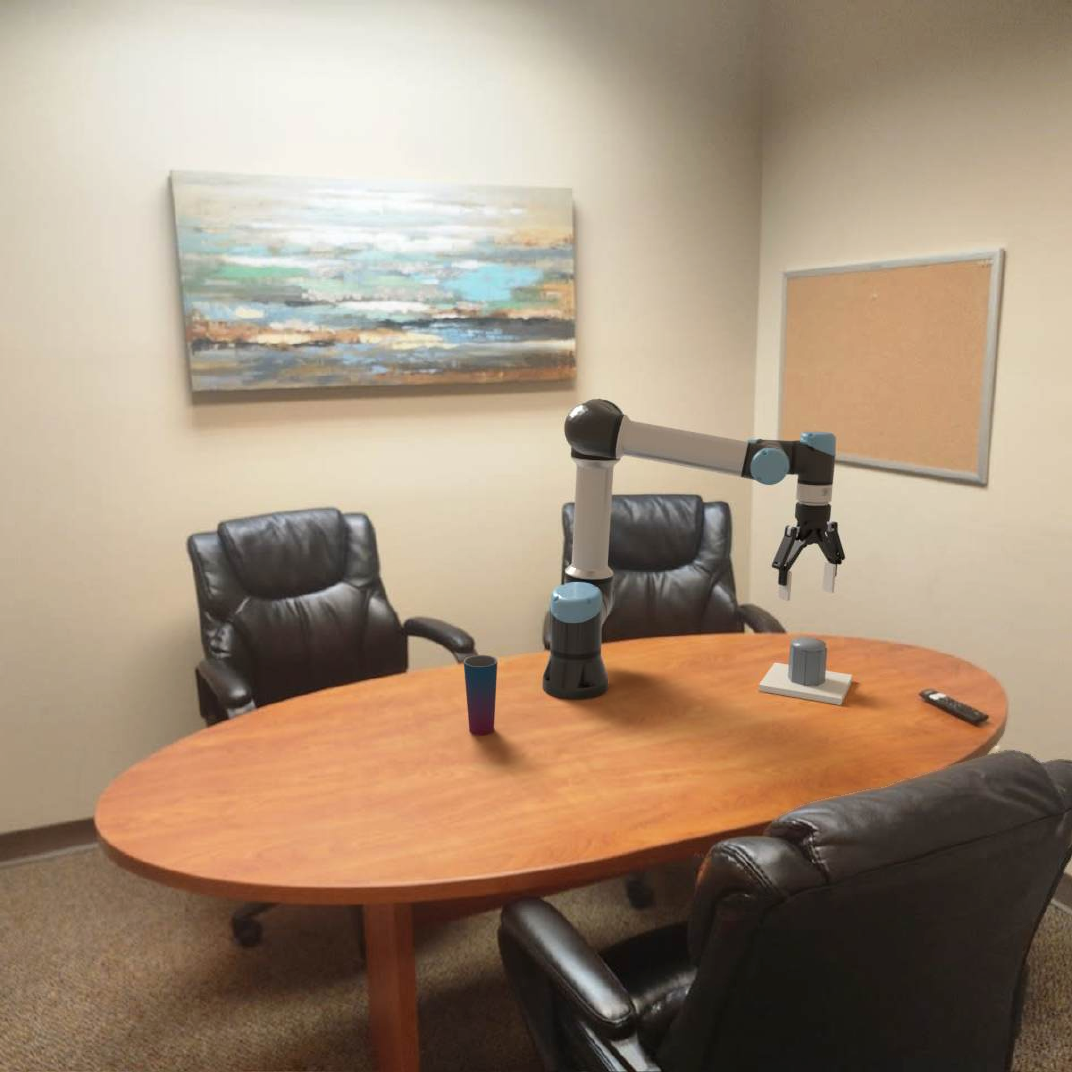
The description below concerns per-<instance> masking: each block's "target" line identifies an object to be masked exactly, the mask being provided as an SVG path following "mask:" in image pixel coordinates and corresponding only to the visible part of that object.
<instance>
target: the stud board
mask: <svg viewBox="0 0 1072 1072" xmlns="http://www.w3.org/2000/svg"><path fill="white" fill-rule="evenodd" d="M788 668H789V664H787V663H779V662H774V663H773V664H772V665H771V667H770V669H768V671H767V672H766V674H765V675H764V677H763V678H762V679H761V681H760V682H759V683H758V692H764V693H769V694H774V695H780V696H787V697H792V698H797V699H804V700H809V701H815V702H820V703H827V704H831V705H838V706H842V703H843V702H844V699H845V698H846V695H847V693H848V691H849V689H850V686H851V684H852V682H853V674H849V673H843V672H836V671H831V670H826V673H825V682H824V683H823V684H821V685H819V686H803V685H799V684H796V683H792V682H791V681H790V679H789V678H788Z"/></svg>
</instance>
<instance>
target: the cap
mask: <svg viewBox="0 0 1072 1072" xmlns="http://www.w3.org/2000/svg"><path fill="white" fill-rule="evenodd" d="M788 652H789V653H788V656H789V657H788V665H789V668H788V678H789V679H790V681H791V682H792V683H796V684H799V685H803V686H819V685H821V684H823V683H824V682H825V673H826V671H827V656H828V648H827V643H826V642H825V641H824V640H822V639H819V638H817V637H816V638H815V637H810V636H809V637H807V636H799V637H794V638H792V639H791V643H790V644H789V651H788Z"/></svg>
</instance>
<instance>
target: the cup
mask: <svg viewBox="0 0 1072 1072" xmlns="http://www.w3.org/2000/svg"><path fill="white" fill-rule="evenodd" d="M463 668H464V682H465V692H466V704H467V705H466V706H467V717H468V729H469V732H470V734H472V735H475V736H486V735H490V734H492V733H493V732H494V730H495V716H496V696H497V695H496V694H497V680H498V679H497V677H498V676H497V675H498V658H496V657H495V656H492V655H488V654H487V655H486V654H475V655H470V656H468V657H465V658H464V660H463Z"/></svg>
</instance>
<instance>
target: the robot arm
mask: <svg viewBox="0 0 1072 1072" xmlns="http://www.w3.org/2000/svg"><path fill="white" fill-rule="evenodd" d="M563 424H564V426H563V429H564V430H563V431H564V436H565V440H566V442H567V443H568V445H569V446H570V458H571V460H572V461H574V463H575V464H576V475H575V491H574V492H575V493H574V495H575V496H574V511H573V512H574V515H573V534H572V551H571V552H572V553H571V564H570V565H568V566H567V567H566V568H565V569H564V580H563V581H564V582H563V583H564V584H560V585H558V586H556V587H555V588H554V589H553V590H552V591H551V594H550V600H549V612H550V613H549V622H550V624H549V626H550V627H549V631H550V632H549V633H550V634H549V637H550V638H549V641H550V643H549V646H550V647H549V651H550V652H549V653H550V655H549V658H548V661H547V663H546V666H545V668H544V672H543V676H542V689H543V691H544V692H546V693H547V694H548V695H550V696H554V697H557V698H559V699H566V700H567V699H569V700H587V699H593V698H596V697H599V696H602V695H604V694H605V693H607V692H608V690H609V677H608V673H607V669H606V667H605V663H604V661H603V660H604V659H603V657H602V629H603V624H604V623H605V621H606V619H607V618H608V616H609V615H610V614H611V612H612V611H613V608H614V605H615V602H616V600H615V599H616V594H615V588H614V571H613V570H612V569H611V568H610V566H609V565H608V564H609V563H608V562H609V547H610V535H611V534H610V532H611V531H610V529H611V514H612V498H613V482H614V467H615V466H616V465H617V464H618V463H619V462H621V458H622V457H624V456H626V457H631V458H636V459H641V460H647V461H653V462H658V463H663V464H669V465H675V466H678V467H679V466H680V467H685V468H690V469H696V470H701V471H706V472H711V473H718V474H722V475H728V476H734V477H739V478H744V479H748V480H752V481H756V482H758V483H760V484H761V485H764V486H765V485H766V486H774V485H776V484H779V483H781V482H782V481H783V480H784V479H785V478H786V476H787V475H790V476H792V475H796V476H797V482H796V483H797V484H796V494H795V495H796V496H795V499H796V500H797V502H796V503H795V511H794V518H795V520H796V522H797V524H796V526H792V525H786V526H785V527H784V534H783V537H782V539H781V541H780V545H779V547H778V548H777V551H776V554H775V556H774V559H773V561H772V563H771V568H773V569H775V570H778V578H777V579H778V581H777V582H778V583H777V584H778V585H779V588H778V599H780V600H784V601H787V602H788V601H791V591H792V588H791V587H792V581H793V580H792V578H793V577H792V576H793V571H791V569H792V567H793V566H794V563H795V562H796V560H797V559H798V558H799V556H800V554H801V553H802V551H803V550H804V549H805V548H807V547H808V546H810V545H813V544H815V545H817V546H818V547H819V549H820V550H821V552H822V553H823V555H824V557H825V558H826V561H825V562H824V564H823V565H824V567H823V577H822V591H824V592H828V593H831V594H833V593H835V581H836V577H837V574H838V572H837V571H838V565H842V564H843V561H845V559H846V554H845V552H844V548H843V544H842V541H841V538H840V535H839V532H838V531H839V529H838V528H839V525H838V522H837V521H832V520H831V515H832V514H831V513H832V505H831V504H830V503H831V502H832V499H833V498H832V497H833V488H834V487H833V484H834V474H835V466H836V465H835V464H836V455H837V454H836V448H837V447H836V446H837V437H836V436H835V434H833V433H832V432H829V431H819V430H818V431H817V430H816V431H810V430H809V431H803V432H801V433H800V436H799V440H777V439H762V438H757V439H747V440H740V439H734V438H728V437H723V436H718V435H711V434H707V433H701V432H695V431H690V430H684V429H679V428H678V429H677V428H673V427H668V426H662V425H655V424H650V423H645V422H641V421H635V420H631V419H630V417H629V416H628V414H624V412H623V410H622V409H621V408H620V407H619V406H618V405H617V404H615V402H613V401H610V400H607V399H603V398H602V399H601V398H591V400H590V399H589V400H588V401H586V402H582V403H580V404H578V405H576V406H574V407H573V408H572V409H571V410H570V412H569V413H567V416H566V418H565V421H564V423H563Z"/></svg>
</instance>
